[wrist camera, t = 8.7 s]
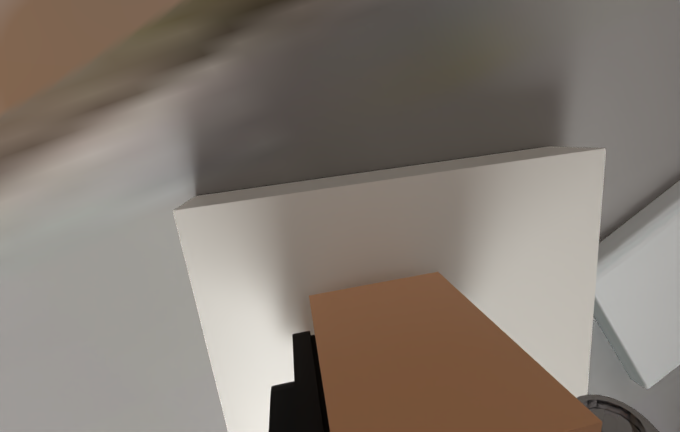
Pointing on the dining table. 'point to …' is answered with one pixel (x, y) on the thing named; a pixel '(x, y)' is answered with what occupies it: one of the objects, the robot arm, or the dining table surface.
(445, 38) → the dining table surface
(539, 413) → the plug
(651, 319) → the external hard drive
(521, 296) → the socket
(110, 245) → the dining table surface
